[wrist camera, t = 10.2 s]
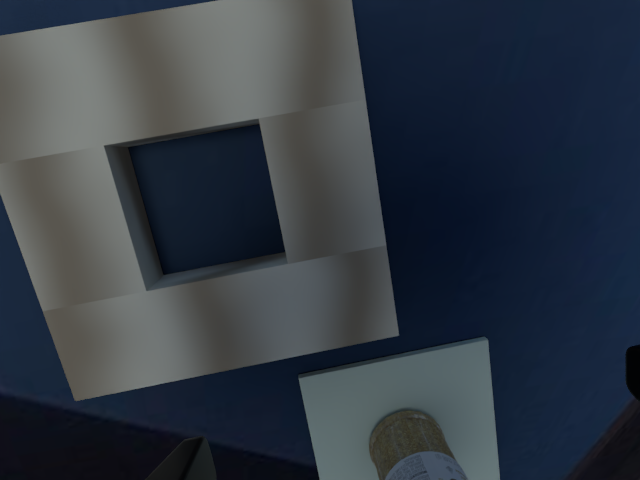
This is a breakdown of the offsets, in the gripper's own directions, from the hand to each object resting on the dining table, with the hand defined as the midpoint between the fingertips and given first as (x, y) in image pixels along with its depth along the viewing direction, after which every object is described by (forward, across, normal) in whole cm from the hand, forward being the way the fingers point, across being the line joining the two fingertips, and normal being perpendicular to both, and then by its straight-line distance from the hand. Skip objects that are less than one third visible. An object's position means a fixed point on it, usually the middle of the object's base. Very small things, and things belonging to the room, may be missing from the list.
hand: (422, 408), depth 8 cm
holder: (+13, +6, -4) cm, 15 cm away
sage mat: (+13, -2, +12) cm, 18 cm away
